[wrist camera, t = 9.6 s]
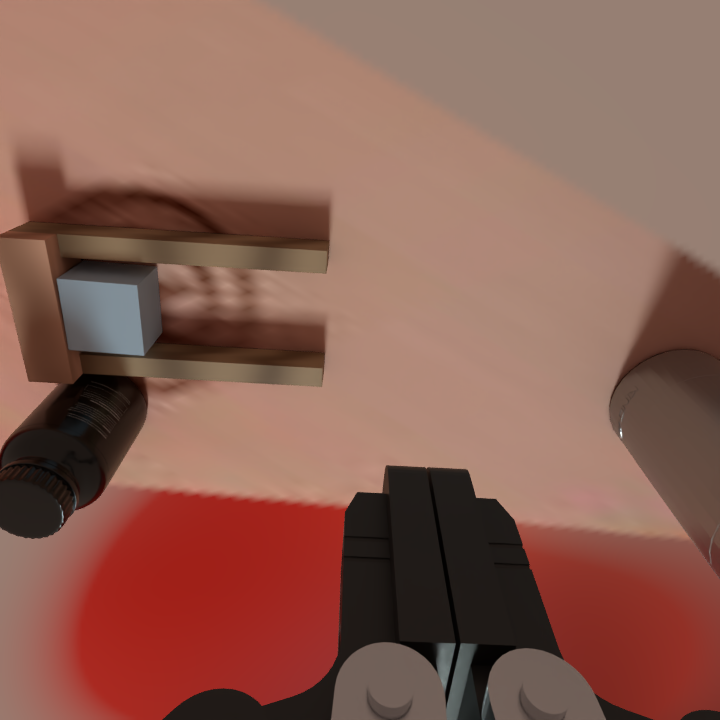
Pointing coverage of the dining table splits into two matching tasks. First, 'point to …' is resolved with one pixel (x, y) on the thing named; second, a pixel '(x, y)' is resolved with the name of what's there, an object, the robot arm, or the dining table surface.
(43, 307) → the track
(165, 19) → the dining table surface
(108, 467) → the supplement bottle
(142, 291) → the block
